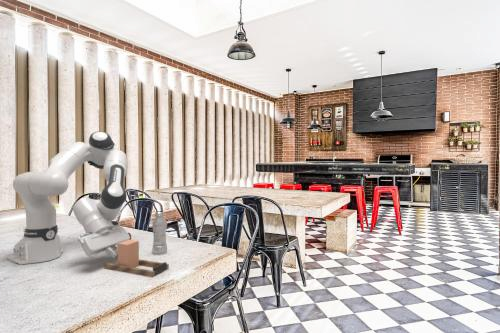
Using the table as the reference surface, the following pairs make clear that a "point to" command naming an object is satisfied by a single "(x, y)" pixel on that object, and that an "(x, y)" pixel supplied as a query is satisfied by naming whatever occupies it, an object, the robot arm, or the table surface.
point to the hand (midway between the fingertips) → (117, 256)
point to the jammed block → (128, 253)
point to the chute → (156, 270)
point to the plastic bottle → (159, 233)
